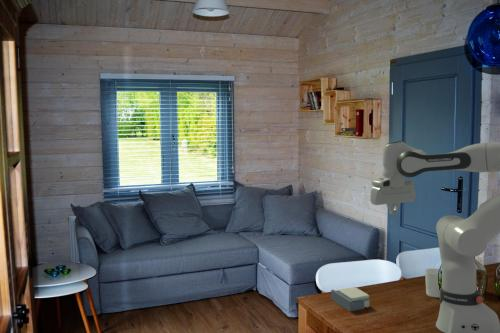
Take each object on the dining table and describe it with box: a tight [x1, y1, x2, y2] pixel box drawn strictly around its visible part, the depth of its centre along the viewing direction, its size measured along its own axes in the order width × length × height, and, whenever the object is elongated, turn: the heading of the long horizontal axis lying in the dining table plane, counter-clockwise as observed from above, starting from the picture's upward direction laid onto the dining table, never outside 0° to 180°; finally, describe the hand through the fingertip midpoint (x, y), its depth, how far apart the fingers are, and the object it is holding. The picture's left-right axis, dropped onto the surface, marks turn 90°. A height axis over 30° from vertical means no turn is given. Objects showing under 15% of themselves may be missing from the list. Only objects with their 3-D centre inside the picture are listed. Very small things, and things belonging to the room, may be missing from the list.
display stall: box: [330, 289, 365, 313], centre depth 197 cm, size 6×14×4 cm, turn 21°
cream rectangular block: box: [337, 286, 370, 309], centre depth 197 cm, size 8×10×5 cm
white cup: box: [424, 268, 440, 299], centre depth 205 cm, size 8×8×10 cm
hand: (393, 213), depth 204 cm, fingers closed
